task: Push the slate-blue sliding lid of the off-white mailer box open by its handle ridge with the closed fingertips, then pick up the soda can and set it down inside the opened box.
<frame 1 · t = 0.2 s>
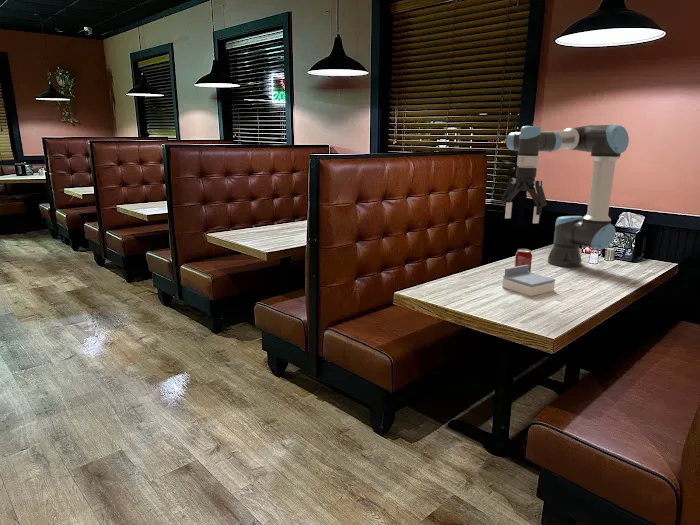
hand: (521, 220, 200), 27 cm above the table, fingers open, 13 cm apart
mailer box: (527, 288, 201), on the table
lid: (529, 274, 200), point 6 cm above the table, slide at 0.0 cm
soda can: (521, 277, 218), on the table
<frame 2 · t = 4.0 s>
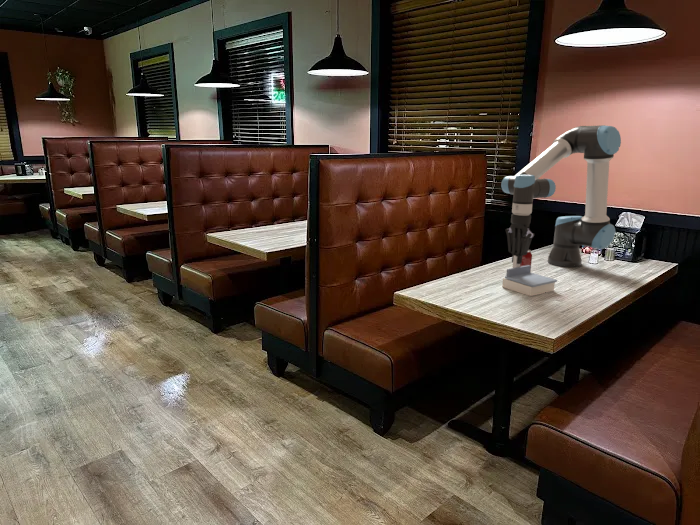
hand: (515, 270, 205), 6 cm above the table, fingers closed
lid: (531, 275, 199), point 6 cm above the table, slide at 0.9 cm, touching gripper
everything else where it was.
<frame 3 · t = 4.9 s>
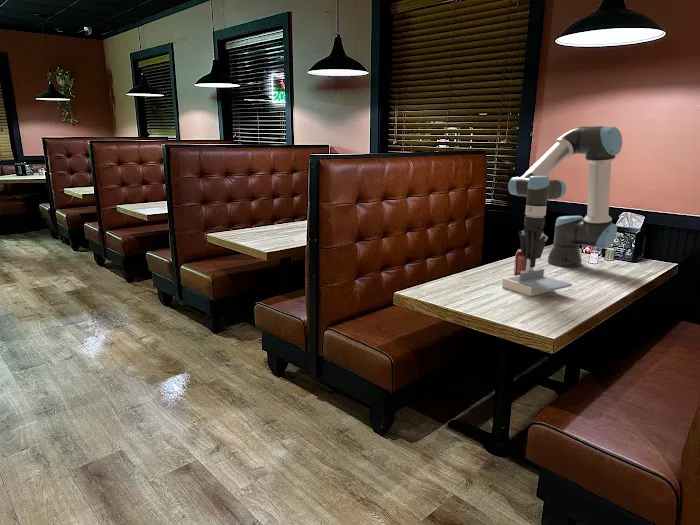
hand: (528, 274, 200), 6 cm above the table, fingers closed
lid: (545, 279, 194), point 6 cm above the table, slide at 7.5 cm, touching gripper
everything else where it was.
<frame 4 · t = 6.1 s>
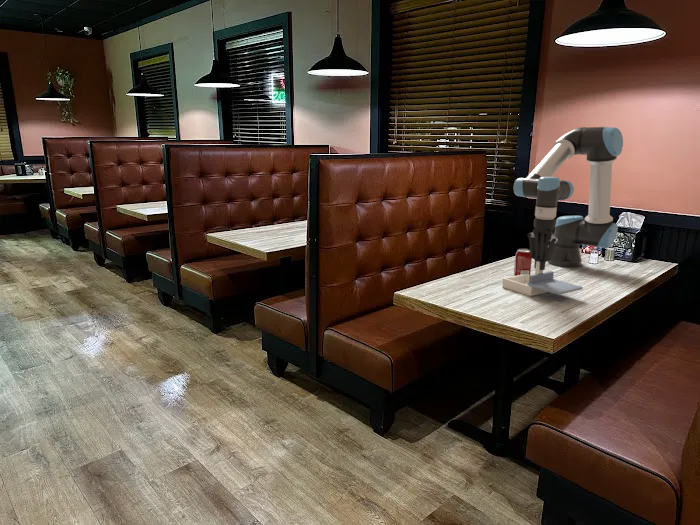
hand: (538, 277, 196), 6 cm above the table, fingers closed
lid: (555, 282, 190), point 6 cm above the table, slide at 12.0 cm, touching gripper
everything else where it was.
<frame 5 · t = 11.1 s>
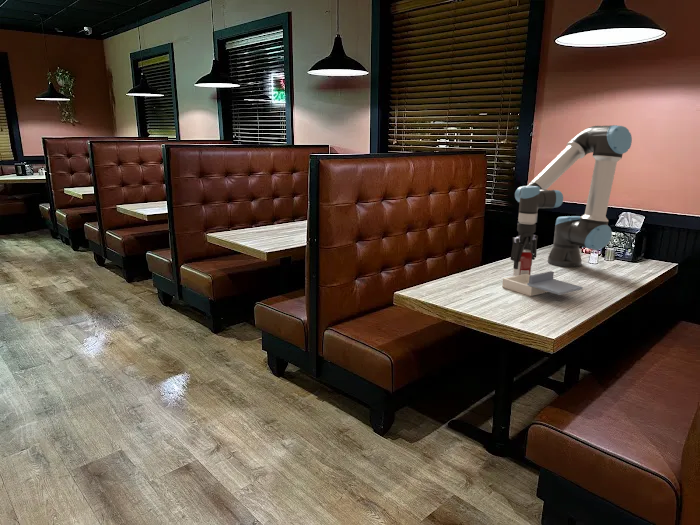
hand: (521, 274, 218), 1 cm above the table, fingers closed on soda can, 6 cm apart
lid: (555, 282, 190), point 6 cm above the table, slide at 12.0 cm
soda can: (521, 277, 218), on the table, touching gripper
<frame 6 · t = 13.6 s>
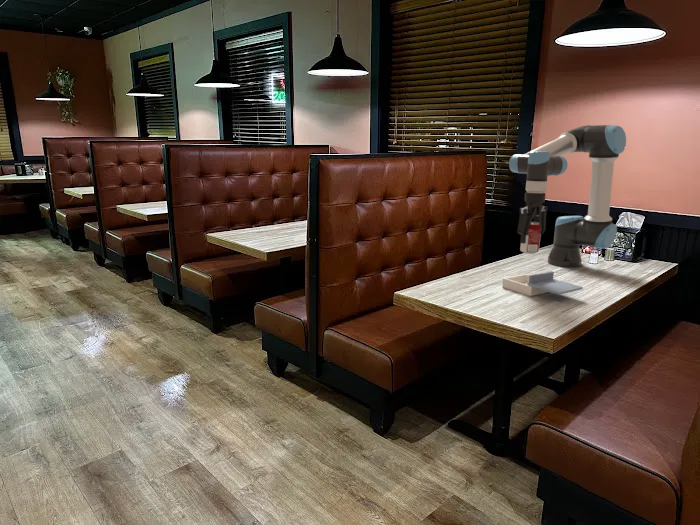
hand: (529, 250, 198), 16 cm above the table, fingers closed on soda can, 6 cm apart
soda can: (529, 252, 198), point 15 cm above the table, touching gripper
everything else where it was.
when the fingers open (4 cm above the table, at t = 16.1 s): soda can drops 2 cm, resting on mailer box.
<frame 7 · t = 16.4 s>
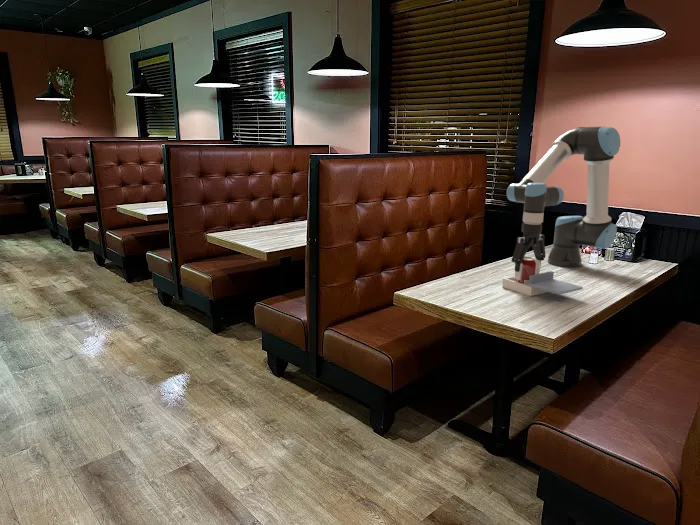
hand: (526, 277, 201), 5 cm above the table, fingers open, 10 cm apart
soda can: (524, 287, 201), resting on mailer box
everything else where it was.
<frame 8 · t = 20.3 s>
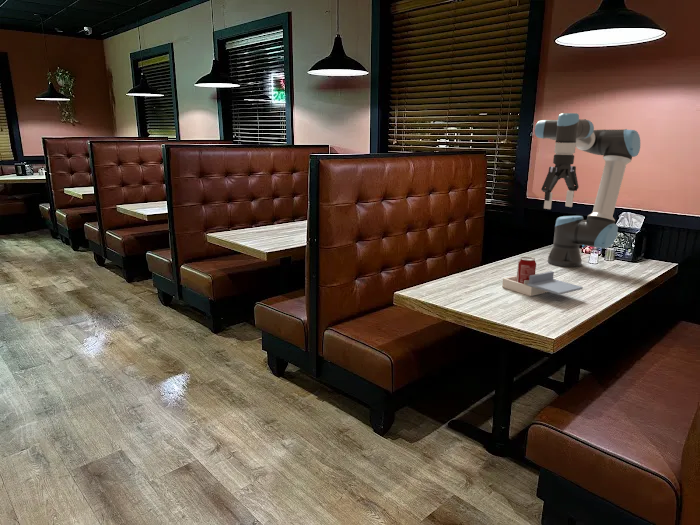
hand: (558, 207, 202), 32 cm above the table, fingers open, 13 cm apart
nothing on the table moved.
at the end: lid slide at 12.0 cm; soda can inside the target area on the mailer box (1.0 cm from its centre), point 0.4 cm above the mailer box's base; soda can tilted 0° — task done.
